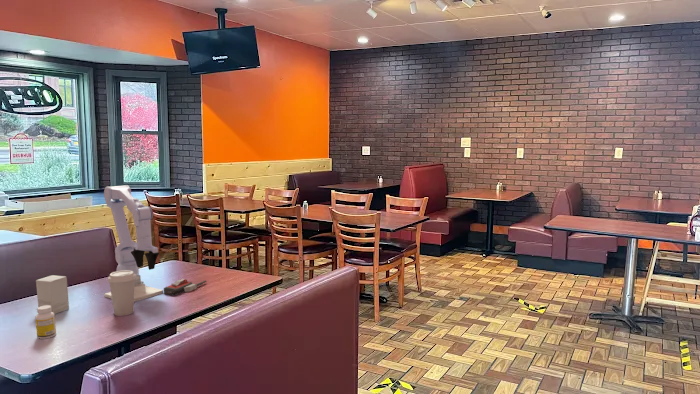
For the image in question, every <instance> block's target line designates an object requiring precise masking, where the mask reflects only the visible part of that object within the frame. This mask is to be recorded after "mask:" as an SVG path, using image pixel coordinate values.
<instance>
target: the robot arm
mask: <svg viewBox="0 0 700 394" xmlns="http://www.w3.org/2000/svg"><path fill="white" fill-rule="evenodd" d="M103 197H104V201H105V204H106V207H107V208H110V209H111V214H112V216H113V217H112V218H113V220H114V226H115V230H116V232H117V233H116V234H117V236H118V237H117V238H118V241H119V244H118V245H117V246H116V247H115V248H114V249H115V250H114V253H115V255H114V256H115V261H116V263H117V264H118V265H116V266H117V267H116V269H115V272H116V271H123V270H129V271H133V272H134V274H136V275H140V272H139V271H140V269H139V268H142V267H144V257H145V259H146V260H147V261H146V262H147V267H148V269H149V270H153V269H155V266H156V262H157V259H158V257H159V255H160V252H159V248H158V247H157V246H154V245H153V243H152V224H151V221H152V219H153V217H154V215H153V209H152V208H151V206H147V205H144V204H143V203H142V202H141V201H140V200H139V199H138V198H137V197H133V195H132V189H131V187H130V186H129V185H128V184H125V185H116V186H108V185H107V186H105V188H104V191H103ZM125 207H126V209H127V210H128V211H129V212H130V213H131V214H132V218H133V224H134V226H135V233H136V241H134V240H132V236H131V233H130V229H129V225H128V221H127V217H126V214H125V210H124V208H125ZM145 252H146V253H145ZM141 283H143V284H144V281H143V280H141Z"/></svg>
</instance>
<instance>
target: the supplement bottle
mask: <svg viewBox="0 0 700 394" xmlns="http://www.w3.org/2000/svg"><path fill="white" fill-rule="evenodd" d="M51 310H52V309H51V306H50V305H45V306H41V307H38V306H37V308H36V312H37V314H36V315H35V318H34V319H35V329H36V337H37V339H39V338H40V340H45V338H47V339H51V338H53V337H55V336H56V335H57V327H56V317H55V314H54V313H53V312H51ZM50 337H51V338H50Z"/></svg>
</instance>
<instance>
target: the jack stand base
mask: <svg viewBox="0 0 700 394" xmlns="http://www.w3.org/2000/svg"><path fill="white" fill-rule="evenodd" d="M161 294H164V289H160V288H156V287H153V286H152V287H151V286H147V285H146V284H145V283H144V282H143V283H141V285H138V286H135V287H134V303H135V302H138V301H141V300H146V299H148V298H151V297H155V296H157V295H161ZM103 296H104V298H108V299H111V300H112V296H111V291H109V292H105V293H104V295H103Z"/></svg>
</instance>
